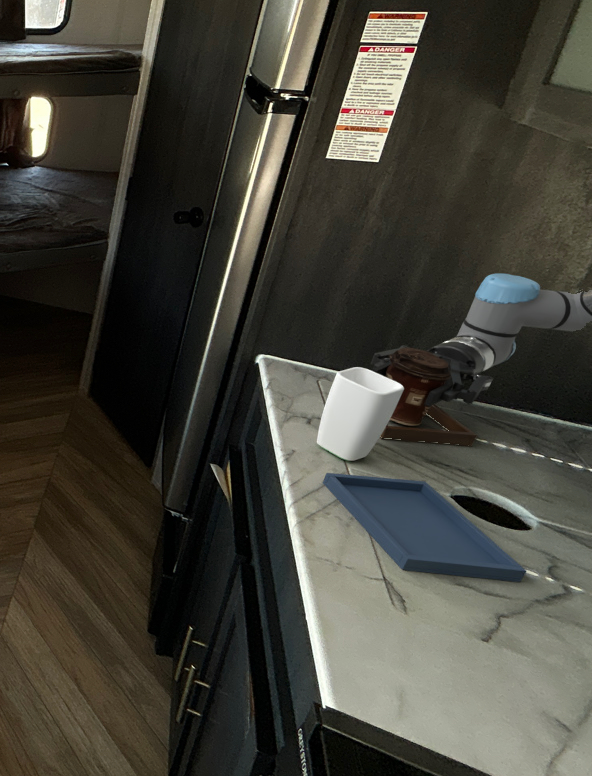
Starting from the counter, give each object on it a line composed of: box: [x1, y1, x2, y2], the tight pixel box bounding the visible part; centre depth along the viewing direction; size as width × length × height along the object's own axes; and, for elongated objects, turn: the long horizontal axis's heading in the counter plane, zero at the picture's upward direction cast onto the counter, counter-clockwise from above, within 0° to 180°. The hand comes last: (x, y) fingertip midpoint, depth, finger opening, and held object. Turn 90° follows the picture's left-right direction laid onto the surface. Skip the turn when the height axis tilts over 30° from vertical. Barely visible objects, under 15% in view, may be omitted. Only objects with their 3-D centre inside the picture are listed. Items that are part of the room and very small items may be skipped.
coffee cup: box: [385, 347, 451, 427], centre depth 118 cm, size 9×8×13 cm
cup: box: [316, 366, 404, 462], centre depth 109 cm, size 7×7×15 cm
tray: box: [322, 472, 527, 583], centre depth 95 cm, size 18×15×2 cm
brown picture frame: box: [379, 404, 478, 447], centre depth 120 cm, size 15×15×2 cm
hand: (400, 387), depth 115 cm, fingers closed on coffee cup, 8 cm apart
